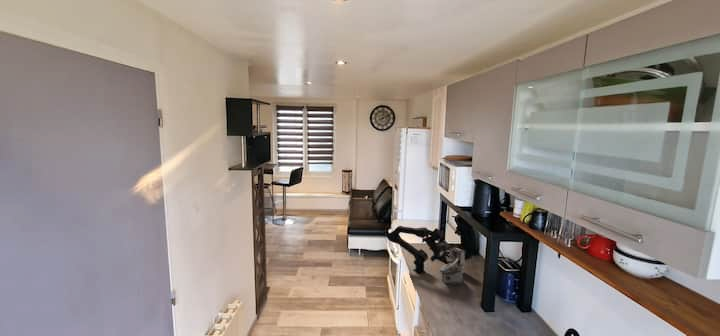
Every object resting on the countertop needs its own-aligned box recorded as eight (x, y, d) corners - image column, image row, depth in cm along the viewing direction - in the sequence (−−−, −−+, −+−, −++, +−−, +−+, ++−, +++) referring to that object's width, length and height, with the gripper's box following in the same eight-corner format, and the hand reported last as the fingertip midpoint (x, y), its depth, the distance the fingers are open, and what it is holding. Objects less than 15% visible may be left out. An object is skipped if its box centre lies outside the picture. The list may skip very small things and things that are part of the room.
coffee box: (464, 272, 205) (466, 250, 203) (459, 275, 201) (461, 253, 198) (453, 267, 212) (454, 246, 210) (448, 270, 208) (449, 248, 205)
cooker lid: (438, 273, 190) (436, 270, 191) (445, 265, 201) (443, 262, 202) (454, 264, 183) (452, 261, 184) (461, 257, 194) (459, 254, 195)
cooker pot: (436, 283, 190) (436, 274, 189) (445, 272, 204) (445, 264, 203) (457, 290, 182) (458, 281, 181) (465, 278, 196) (466, 270, 195)
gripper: (435, 242, 186) (452, 263, 181) (445, 234, 201) (461, 253, 196) (423, 251, 192) (439, 271, 187) (434, 242, 207) (449, 261, 202)
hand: (447, 264), depth 193 cm, fingers closed
